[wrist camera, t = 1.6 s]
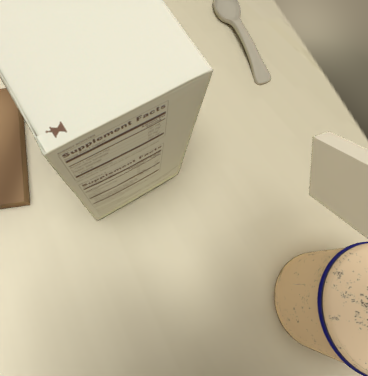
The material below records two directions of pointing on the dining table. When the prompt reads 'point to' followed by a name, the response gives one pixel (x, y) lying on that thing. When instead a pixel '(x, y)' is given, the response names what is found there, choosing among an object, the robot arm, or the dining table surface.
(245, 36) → the spoon
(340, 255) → the teacup with lid
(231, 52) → the dining table surface
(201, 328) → the dining table surface
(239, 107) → the dining table surface
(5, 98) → the walnut board
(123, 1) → the supplement box
